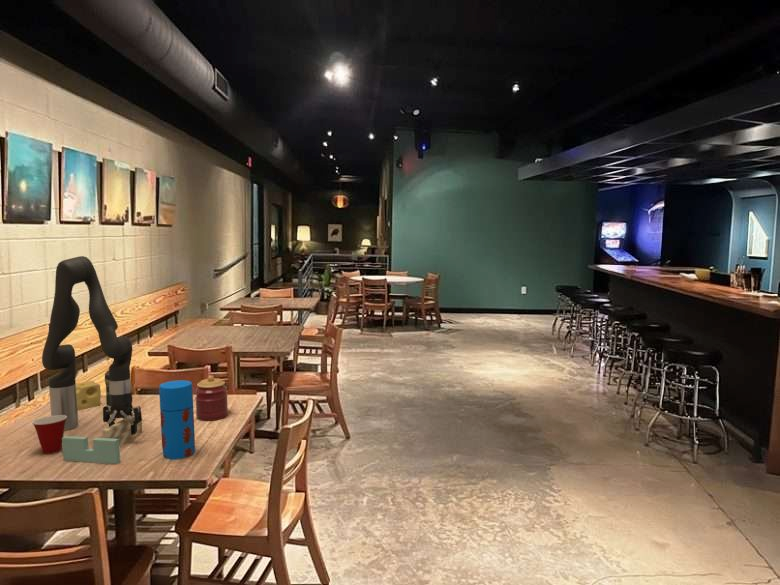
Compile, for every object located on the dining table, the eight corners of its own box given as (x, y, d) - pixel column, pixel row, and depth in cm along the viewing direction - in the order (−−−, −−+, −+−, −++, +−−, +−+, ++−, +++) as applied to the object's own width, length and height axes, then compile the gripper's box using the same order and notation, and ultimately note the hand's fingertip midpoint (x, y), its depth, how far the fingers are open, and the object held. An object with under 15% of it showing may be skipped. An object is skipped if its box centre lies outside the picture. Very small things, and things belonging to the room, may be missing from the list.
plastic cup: (65, 442, 211) (63, 411, 210) (72, 450, 203) (70, 418, 202) (31, 450, 204) (28, 417, 203) (37, 459, 196) (35, 425, 195)
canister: (222, 421, 234) (221, 379, 232) (191, 421, 234) (189, 379, 232) (232, 411, 247) (230, 371, 245) (202, 411, 247) (200, 371, 245)
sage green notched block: (63, 460, 195) (61, 437, 194) (67, 458, 197) (66, 435, 196) (116, 463, 192) (115, 441, 191) (120, 461, 194) (118, 438, 193)
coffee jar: (132, 411, 247) (130, 370, 245) (114, 416, 241) (112, 373, 238) (121, 407, 253) (119, 366, 251) (103, 412, 247) (101, 370, 244)
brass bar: (109, 452, 202) (108, 430, 201) (104, 451, 202) (103, 430, 201) (142, 432, 222) (141, 412, 221) (137, 432, 222) (136, 412, 221)
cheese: (76, 410, 249) (74, 388, 248) (69, 405, 257) (68, 383, 255) (101, 405, 256) (100, 384, 254) (94, 400, 264) (93, 379, 262)
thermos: (157, 453, 200) (153, 384, 198) (185, 445, 208) (182, 378, 205) (171, 462, 193) (168, 390, 190) (200, 453, 201) (197, 384, 198)
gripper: (96, 393, 207) (99, 436, 209) (132, 394, 205) (134, 438, 206) (109, 387, 214) (112, 429, 216) (144, 389, 212) (146, 431, 214)
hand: (123, 433), depth 211 cm, fingers open, 8 cm apart
